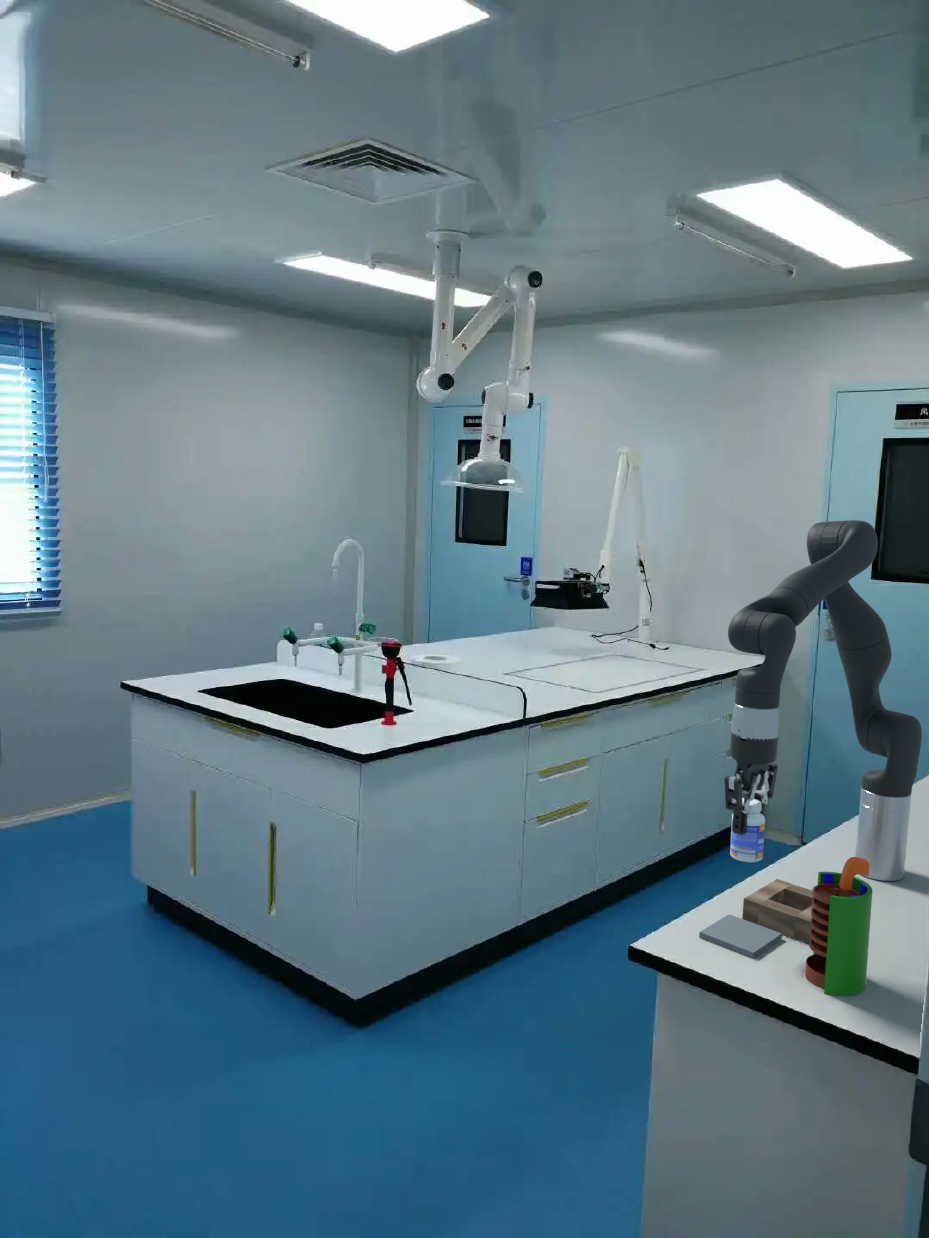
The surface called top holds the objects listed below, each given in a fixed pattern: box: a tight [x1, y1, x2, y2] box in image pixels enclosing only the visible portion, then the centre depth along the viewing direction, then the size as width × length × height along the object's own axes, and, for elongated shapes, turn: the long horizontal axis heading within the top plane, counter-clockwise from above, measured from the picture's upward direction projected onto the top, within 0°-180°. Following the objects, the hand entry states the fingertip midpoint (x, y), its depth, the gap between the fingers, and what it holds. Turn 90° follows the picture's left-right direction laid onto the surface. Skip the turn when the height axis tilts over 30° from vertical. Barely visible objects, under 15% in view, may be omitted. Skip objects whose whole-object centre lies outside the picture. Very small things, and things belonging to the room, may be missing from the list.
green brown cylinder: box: [804, 856, 873, 997], centre depth 150 cm, size 10×9×20 cm
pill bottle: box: [729, 798, 766, 863], centre depth 162 cm, size 5×5×10 cm
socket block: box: [741, 878, 814, 945], centre depth 172 cm, size 13×13×4 cm
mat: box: [698, 913, 783, 959], centre depth 165 cm, size 10×10×1 cm
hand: (747, 828), depth 162 cm, fingers closed on pill bottle, 5 cm apart
